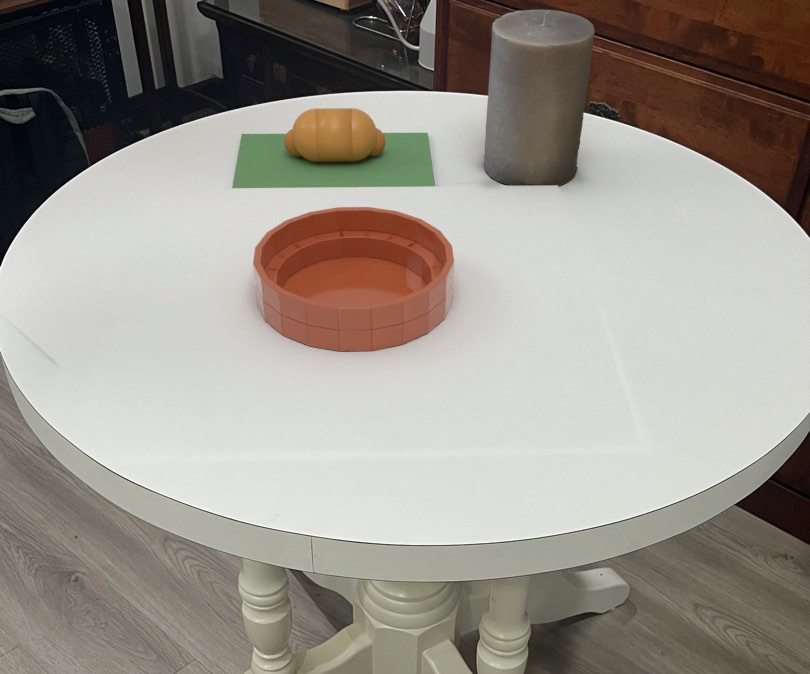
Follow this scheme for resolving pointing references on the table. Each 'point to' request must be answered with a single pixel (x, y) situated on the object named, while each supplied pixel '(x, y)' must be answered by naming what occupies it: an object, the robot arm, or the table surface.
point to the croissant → (334, 136)
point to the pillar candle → (537, 96)
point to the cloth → (333, 165)
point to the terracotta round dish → (354, 278)
